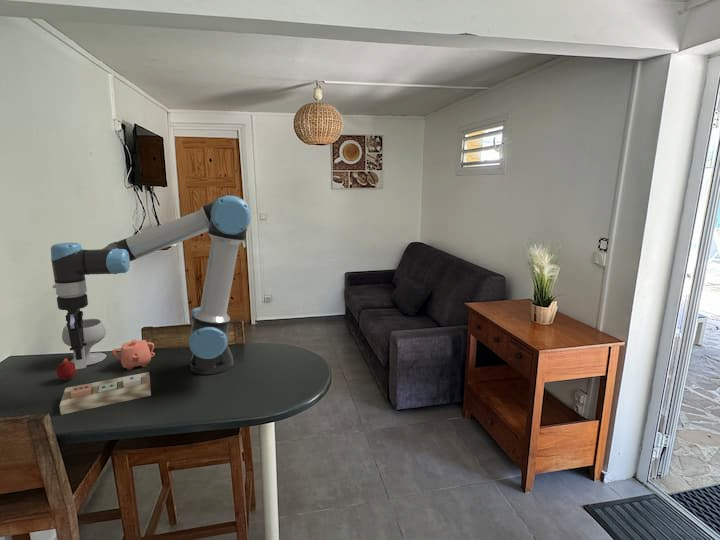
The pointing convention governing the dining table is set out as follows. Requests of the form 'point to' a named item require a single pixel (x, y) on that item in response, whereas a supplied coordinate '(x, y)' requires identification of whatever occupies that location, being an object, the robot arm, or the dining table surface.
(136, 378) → the key one
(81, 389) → the key three
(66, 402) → the key board
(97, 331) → the chalice
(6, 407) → the dining table surface
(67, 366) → the onion
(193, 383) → the dining table surface
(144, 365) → the teapot
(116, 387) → the key two
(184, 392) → the dining table surface
